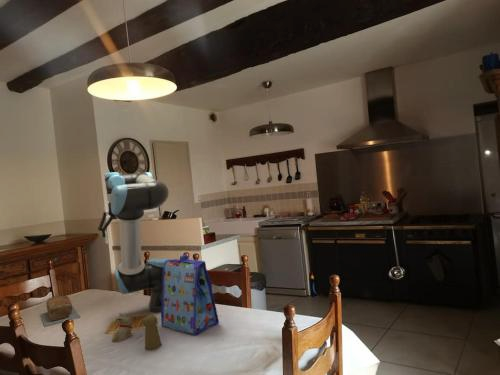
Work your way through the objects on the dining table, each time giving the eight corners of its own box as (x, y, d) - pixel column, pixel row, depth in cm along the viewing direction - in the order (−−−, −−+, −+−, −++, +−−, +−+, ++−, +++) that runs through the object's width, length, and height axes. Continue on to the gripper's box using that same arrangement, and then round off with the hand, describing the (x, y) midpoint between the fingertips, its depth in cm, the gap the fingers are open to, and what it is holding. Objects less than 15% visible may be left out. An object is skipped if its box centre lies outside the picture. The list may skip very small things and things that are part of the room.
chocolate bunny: (133, 337, 143) (130, 312, 142) (112, 343, 140) (109, 317, 140) (133, 332, 148) (130, 308, 148) (112, 337, 145) (109, 312, 145)
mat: (80, 317, 176) (80, 316, 176) (44, 327, 167) (44, 326, 167) (72, 306, 196) (72, 305, 196) (40, 314, 187) (40, 313, 187)
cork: (146, 352, 128) (142, 321, 128) (143, 346, 134) (139, 316, 133) (163, 346, 131) (159, 316, 131) (159, 341, 136) (156, 312, 136)
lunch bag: (220, 323, 147) (211, 252, 147) (194, 336, 137) (185, 260, 136) (185, 315, 161) (177, 250, 161) (159, 327, 151) (151, 257, 151)
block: (46, 312, 188) (50, 323, 171) (45, 297, 188) (48, 307, 171) (69, 306, 194) (75, 317, 177) (68, 292, 194) (74, 301, 177)
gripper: (136, 198, 205) (141, 236, 206) (88, 204, 191) (93, 244, 192) (140, 198, 199) (145, 237, 199) (91, 204, 185) (96, 246, 185)
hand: (120, 241), depth 195 cm, fingers open, 13 cm apart
